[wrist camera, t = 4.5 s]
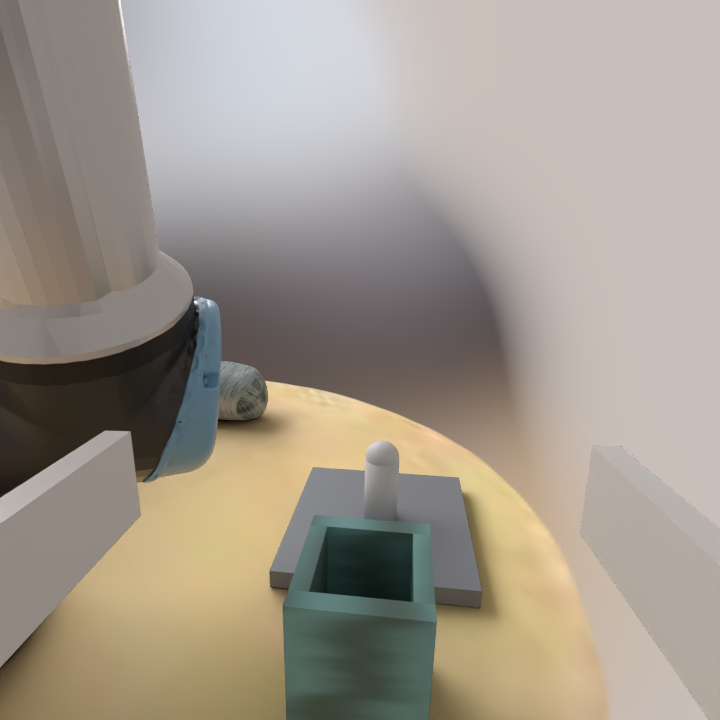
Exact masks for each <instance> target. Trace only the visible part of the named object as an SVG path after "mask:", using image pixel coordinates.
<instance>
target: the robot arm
mask: <svg viewBox="0 0 720 720" xmlns="http://www.w3.org/2000/svg"><path fill="white" fill-rule="evenodd" d="M220 365H221V322H220V313H219V308H218V306H217V304H216V303H215V302H214V301H212V300H207V299H204V298H201V297H193V288H192V282H191V279H190V277H189V275H188V273H187V271H186V270H185V269H184V268H183V267H182V266H181V265H180V264H179V263H178V262H176V261H175V260H174V259H172V258H171V257H169V256H167V255H166V254H164V253H163V252H161V251H159V248H158V241H157V235H156V228H155V222H154V215H153V209H152V202H151V196H150V190H149V183H148V176H147V170H146V164H145V158H144V151H143V144H142V138H141V131H140V124H139V118H138V111H137V105H136V98H135V92H134V85H133V79H132V72H131V66H130V60H129V53H128V46H127V40H126V34H125V27H124V21H123V14H122V7H121V1H120V0H0V668H1V667H2V666H3V665H4V664H5V663H6V662H7V661H8V660H9V659H10V658H11V657H12V656H13V654H14V653H15V652H16V651H17V650H18V649H19V648H20V646H21V645H22V644H23V643H24V642H25V640H26V639H27V638H28V637H29V636H30V635H31V634H32V633H33V632H34V630H35V629H36V628H37V627H38V626H39V625H40V624H41V623H42V622H43V621H44V620H45V619H46V617H47V616H48V615H49V614H50V613H51V612H52V611H53V610H54V609H55V608H56V607H57V606H58V604H59V603H60V602H61V601H62V600H63V599H64V598H65V597H66V596H67V595H68V594H69V593H70V591H71V590H72V589H73V588H74V587H75V586H76V585H77V584H78V583H79V582H80V581H81V580H82V579H83V577H84V576H85V575H86V574H87V573H88V572H89V571H90V570H91V569H92V568H93V567H94V566H95V564H96V563H97V562H98V561H99V560H100V559H101V558H102V557H103V556H104V555H105V554H106V553H107V551H108V550H109V549H110V548H111V547H112V546H113V545H114V544H115V543H116V542H117V541H118V540H119V538H120V537H121V536H122V535H123V534H124V533H125V532H126V531H127V530H128V529H129V528H130V527H131V525H132V524H133V523H134V522H135V521H136V520H137V519H138V518H139V517H140V516H141V513H140V505H139V497H138V488H137V482H144V483H147V482H152V481H154V480H155V479H157V478H159V477H165V476H170V475H175V474H181V473H186V472H191V471H194V470H196V469H198V468H200V467H201V466H203V465H204V464H205V463H206V462H207V460H208V459H209V458H210V456H211V454H212V452H213V449H214V445H215V440H216V433H217V424H218V413H219V397H220V384H219V378H220ZM580 534H581V536H582V537H583V539H584V540H585V542H586V543H587V544H588V546H589V547H590V549H591V550H592V551H593V553H594V554H595V556H596V557H597V559H598V560H599V562H600V563H601V565H602V566H603V568H604V569H605V570H606V572H607V573H608V575H609V576H610V578H611V579H612V581H613V582H614V584H615V585H616V586H617V588H618V589H619V591H620V592H621V594H622V595H623V597H624V598H625V599H626V601H627V602H628V604H629V605H630V607H631V608H632V610H633V611H634V612H635V614H636V615H637V617H638V618H639V620H640V621H641V623H642V624H643V626H644V627H645V628H646V630H647V631H648V633H649V634H650V636H651V637H652V639H653V640H654V641H655V643H656V644H657V646H658V647H659V649H660V650H661V652H662V653H663V655H664V656H665V658H666V659H667V660H668V662H669V663H670V665H671V666H672V668H673V669H674V670H675V672H676V673H677V675H678V676H679V678H680V679H681V681H682V682H683V683H684V685H685V687H686V688H687V689H688V691H689V692H690V694H691V695H692V697H693V698H694V699H695V701H696V702H697V704H698V705H699V707H700V708H701V709H702V711H703V713H704V714H705V716H706V717H707V718H708V720H720V528H719V527H717V526H716V525H715V524H714V523H713V522H712V521H710V520H709V519H708V518H707V517H706V516H704V515H703V514H702V513H701V512H699V511H698V510H697V509H696V508H695V507H693V506H692V505H691V504H690V503H688V502H687V501H686V500H685V499H684V498H683V497H681V496H680V495H679V494H678V493H677V492H675V491H674V490H673V489H672V488H671V487H669V486H668V485H667V484H666V483H664V482H663V481H662V480H661V479H660V478H658V477H657V476H656V475H655V474H654V473H652V472H651V471H650V470H649V469H648V468H646V467H645V466H644V465H643V464H642V463H640V462H639V461H638V460H637V459H636V458H634V457H633V456H632V455H631V454H629V453H628V452H627V451H626V450H625V449H623V448H622V447H621V446H594V445H593V446H592V451H591V458H590V465H589V472H588V479H587V486H586V493H585V500H584V507H583V514H582V521H581V528H580Z"/></svg>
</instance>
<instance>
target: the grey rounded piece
mask: <svg viewBox="0 0 720 720" xmlns="http://www.w3.org/2000/svg"><path fill="white" fill-rule="evenodd" d="M219 384H220V397H219V413H218V419H222V420H249V419H253V418H256V417H259V416H261V415H262V414H263V412H264V411H265V409H266V406H267V402H268V392H267V386H266V383H265V380H264V378H263V377H262V375H261V374H260V373H259V372H258V371H257V370H256V369H255V368H253V367H251V366H247V365H243V364H239V363H234V362H226V361H221V365H220V378H219Z"/></svg>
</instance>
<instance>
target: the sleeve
mask: <svg viewBox="0 0 720 720" xmlns="http://www.w3.org/2000/svg"><path fill="white" fill-rule="evenodd" d="M436 624H437V620H436V606H435V591H434V577H433V562H432V548H431V534H430V524H420V523H407V522H395V521H383V520H371V519H359V518H347V517H335V516H323V515H314V516H313V519H312V522H311V525H310V528H309V531H308V534H307V537H306V540H305V543H304V545H303V548H302V551H301V554H300V557H299V560H298V563H297V566H296V569H295V572H294V575H293V578H292V580H291V583H290V586H289V589H288V592H287V595H286V598H285V601H284V604H283V631H284V660H285V689H286V718H287V720H429V710H430V698H431V685H432V673H433V661H434V649H435V636H436Z"/></svg>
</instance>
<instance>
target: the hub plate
mask: <svg viewBox="0 0 720 720" xmlns="http://www.w3.org/2000/svg"><path fill="white" fill-rule="evenodd" d="M314 515H323V516H335V517H347V518H359V519H371V520H383V521H395V522H407V523H420V524H430V534H431V548H432V562H433V577H434V591H435V603H436V604H446V605H456V606H466V607H476V608H480V605H481V596H482V589H481V584H480V579H479V574H478V569H477V564H476V559H475V554H474V549H473V544H472V540H471V535H470V530H469V525H468V520H467V515H466V510H465V505H464V500H463V495H462V490H461V485H460V481H459V478H456V477H442V476H428V475H414V474H400V473H399V453H398V451H397V449H396V447H395V446H394V445H393V444H391V443H390V442H387V441H377V442H374V443H373V444H371V445H370V446H369V448H368V449H367V451H366V455H365V471H359V470H345V469H331V468H317V467H313V468H312V471H311V473H310V475H309V478H308V480H307V482H306V485H305V487H304V490H303V492H302V494H301V497H300V499H299V502H298V504H297V506H296V509H295V511H294V514H293V516H292V518H291V521H290V523H289V525H288V528H287V530H286V533H285V535H284V537H283V540H282V542H281V545H280V547H279V549H278V552H277V554H276V556H275V559H274V561H273V564H272V566H271V568H270V587H276V588H286V589H289V586H290V583H291V580H292V578H293V575H294V572H295V569H296V566H297V563H298V560H299V557H300V554H301V551H302V548H303V545H304V543H305V540H306V537H307V534H308V531H309V528H310V525H311V522H312V519H313V516H314Z"/></svg>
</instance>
